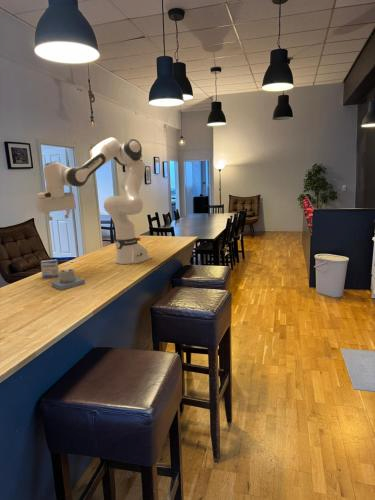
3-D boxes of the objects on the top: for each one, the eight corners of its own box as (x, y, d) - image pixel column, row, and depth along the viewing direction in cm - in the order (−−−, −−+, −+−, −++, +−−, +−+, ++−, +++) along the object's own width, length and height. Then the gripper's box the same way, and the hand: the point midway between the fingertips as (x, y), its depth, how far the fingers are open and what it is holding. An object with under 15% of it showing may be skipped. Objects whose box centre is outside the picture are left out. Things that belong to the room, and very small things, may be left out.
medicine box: (42, 278, 181) (40, 262, 179) (43, 276, 185) (41, 260, 183) (58, 276, 183) (56, 260, 181) (59, 274, 187) (57, 258, 185)
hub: (70, 278, 172) (69, 268, 170) (77, 280, 167) (76, 270, 166) (58, 281, 167) (57, 271, 166) (65, 283, 163) (63, 273, 162)
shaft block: (74, 280, 175) (72, 265, 173) (85, 283, 168) (83, 268, 167) (51, 286, 166) (49, 271, 165) (61, 290, 160) (59, 274, 158)
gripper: (70, 191, 193) (73, 216, 196) (34, 194, 179) (37, 221, 182) (76, 191, 189) (79, 217, 192) (39, 194, 175) (43, 222, 178)
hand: (58, 219), depth 187 cm, fingers open, 8 cm apart
